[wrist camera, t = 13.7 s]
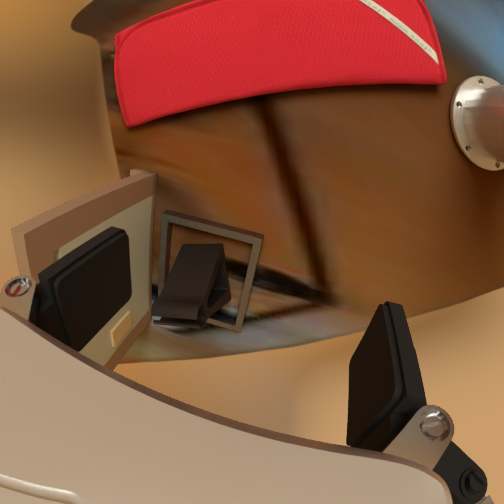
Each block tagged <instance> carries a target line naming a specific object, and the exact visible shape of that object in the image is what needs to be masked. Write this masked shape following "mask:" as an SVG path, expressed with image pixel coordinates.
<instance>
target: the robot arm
mask: <svg viewBox="0 0 504 504" xmlns="http://www.w3.org/2000/svg"><path fill="white" fill-rule="evenodd" d="M456 103H457V105H456ZM450 120H451V126H452V131H453V134H454V137H455V139H456V142H457V144H458V146H459V147H460V149H461V151H462V152H463V153H464V155H465V156H466V157H467V158H468V159H469V160H470V161H471V162H472V163H474V164H475V165H477V166H478V167H481V168H483V169H486V170H490V171H497V170H501V169H504V85H501V84H499V83H498V82H497V81H495V80H493V79H491V78H488V77H485V76H474V77H470V78H468V79H465V80H464V81H463V82H461V83H460V84H459V85H458V87H457V88H456V90H455V92H454V94H453V96H452V100H451V105H450ZM38 278H39V283H38V284H37V285H36V281H35V279H34V278H32V277H31V276H27V275H22V276H17V277H14V278H12V279H10V280H9V281H7V282H6V283H5V284H4V286H3V288H2V290H1V293H0V504H494V503H493V501H492V499H491V497H490V495H489V496H487V497H485V493H486V490H487V478H486V476H485V473H484V472H483V470H482V469H481V468H480V467H479V466H478V465H477V464H476V463H475V462H474V461H473V460H471V459H470V458H469V457H468V456H467V455H466V454H465V453H464V452H463V451H462V450H461V449H460V448H459V447H458V446H457V445H456V444H455V443H454V442H452V441H451V439H452V437H453V434H454V424H453V421H452V419H451V417H450V415H449V414H448V413H447V412H446V411H445V410H444V409H442V408H440V407H438V406H435V405H427V403H426V397H425V392H424V387H423V382H422V377H421V372H420V368H419V364H418V359H417V355H416V351H415V348H414V346H413V342H412V338H411V334H410V331H409V327H408V323H407V320H406V316H405V313H404V309H403V306H402V305H400V304H396V303H392V302H388V301H387V302H385V303H384V305H383V304H380V305H379V306H378V308H377V310H376V312H375V314H374V316H373V318H372V320H371V322H370V324H369V326H368V328H367V330H366V332H365V334H364V336H363V338H362V340H361V341H360V343H359V345H358V347H357V349H356V351H355V352H354V354H353V356H352V358H351V360H350V364H349V400H348V423H347V438H346V443H347V445H348V446H342V445H336V444H330V443H324V442H320V441H314V440H309V439H305V438H300V437H296V436H291V435H287V434H283V433H278V432H274V431H270V430H267V429H263V428H259V427H255V426H252V425H248V424H245V423H241V422H238V421H235V420H232V419H228V418H225V417H222V416H219V415H216V414H213V413H210V412H208V411H205V410H202V409H199V408H196V407H194V406H191V405H188V404H185V403H183V402H180V401H178V400H175V399H173V398H171V397H168V396H166V395H163V394H161V393H158V392H156V391H154V390H152V389H150V388H147V387H145V386H143V385H141V384H138V383H136V382H134V381H132V380H130V379H128V378H125V377H124V376H122V375H120V374H118V373H116V372H114V371H112V370H110V369H108V368H106V367H104V366H102V365H100V364H98V363H97V362H95V361H93V360H91V359H89V358H88V357H86V356H84V355H82V354H80V353H79V352H80V351H81V350H82V349H83V348H84V347H85V346H86V345H87V344H88V343H89V342H90V341H91V340H92V338H93V337H94V336H95V335H96V334H97V333H98V332H99V331H100V330H101V329H102V328H103V327H104V326H105V325H106V324H107V323H108V322H109V321H110V319H111V318H112V317H113V316H114V315H115V314H116V313H117V312H118V311H119V310H120V309H121V308H122V307H123V306H124V305H125V304H126V303H127V302H128V301H129V300H130V298H131V296H132V283H131V269H130V250H129V236H128V235H127V234H126V231H125V230H124V229H120V228H117V227H113V226H111V227H109V228H107V229H106V230H104V231H102V232H101V233H99V234H97V235H96V236H94V237H93V238H91V239H89V240H88V241H86V242H85V243H83V244H81V245H80V246H78V247H77V248H75V249H74V250H72V251H71V252H69V253H68V254H66V255H65V256H63V257H62V258H60V259H59V260H57V261H56V262H54V263H53V264H51V265H50V266H48V267H47V268H46V269H44V270H43V271H41V272H40V273H38ZM349 446H350V447H349Z"/></svg>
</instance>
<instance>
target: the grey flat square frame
mask: <svg viewBox="0 0 504 504" xmlns="http://www.w3.org/2000/svg"><path fill="white" fill-rule="evenodd" d="M172 223H175V224H179V225H183V226H187V227H190V228H194V229H198V230H202V231H206V232H209V233H213V234H217V235H221V236H224V237H228V238H232V239H235V240H239V241H243V242H247V243H250V244H253V247H252V252H251V256H250V261H249V265H248V270H247V274H246V279H245V283H244V288H243V293H242V297H241V302H240V306H239V311H238V315H237V320H235V319H232V318H228V317H225V316H222V315H218V314H215V313H214V314H212V315H211V316H210V317H209V318H208V319H207V321H206V322H207V323H210V324H214V325H217V326H220V327H223V328H227V329H230V330H233V331H237V332H241V329H242V327H243V323H244V318H245V314H246V310H247V306H248V302H249V298H250V293H251V289H252V285H253V281H254V277H255V272H256V268H257V264H258V260H259V255H260V251H261V247H262V243H263V238H264V235H263V234H259V233H255V232H251V231H248V230H244V229H240V228H236V227H232V226H228V225H225V224H221V223H217V222H213V221H209V220H205V219H201V218H197V217H193V216H189V215H185V214H181V213H177V212H173V211H169V210H166V211H165V212H163V213H162V221H161V236H160V253H159V278H158V298H159V296H160V294H161V292H162V290H163V288H164V285H165V283H166V281H167V278H168V275H169V258H170V244H171V232H172Z"/></svg>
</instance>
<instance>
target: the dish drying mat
mask: <svg viewBox="0 0 504 504" xmlns="http://www.w3.org/2000/svg"><path fill="white" fill-rule="evenodd" d="M114 41H115V50H116V52H115V60H114V74H115V83H116V90H117V95H118V101H119V105H120V109H121V113H122V116H123V120H124V122H125V125H126V127H127V128H131V127H133V126H138V125H141V124H144V123H146V122H149V121H152V120H154V119H158V118H161V117H164V116H168V115H172V114H176V113H180V112H184V111H189V110H192V109H196V108H200V107H205V106H209V105H214V104H218V103H223V102H227V101H232V100H237V99H242V98H247V97H253V96H258V95H264V94H271V93H278V92H284V91H292V90H301V89H310V88H322V87H333V86H348V85H369V84H446V83H447V74H446V70H445V66H444V61H443V56H442V52H441V48H440V44H439V40H438V36H437V32H436V29H435V26H434V23H433V21H432V18H431V15H430V13H429V11H428V9H427V7H426V5H425V2H424V0H195V1H192V2H189V3H186V4H183V5H180V6H178V7H175V8H172V9H170V10H167V11H165V12H162V13H159V14H157V15H155V16H152V17H150V18H147V19H145V20H143V21H141V22H139V23H137V24H135V25H133V26H131V27H129V28H127V29H125V30H123V31H121V32H120V33H117V34H116V35H115V39H114Z"/></svg>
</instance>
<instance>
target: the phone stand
mask: <svg viewBox="0 0 504 504" xmlns="http://www.w3.org/2000/svg"><path fill="white" fill-rule="evenodd" d="M230 300H231V293H230V287H229V280H228V274H227V267H226V261H225V254H224V247H223V244H184V245H182V247H181V249H180V252H179V254H178V256H177V258H176V260H175V263H174V265H173V267H172V269H171V272H170V274H169V276H168V278H167V281H166V283H165V285H164V288H163V290H162V292H161V294H160V296H159V298H158V299H157V300H155V301H154V303H153V305H152V308H151V316H160V317H161V319H160V320H154V321H153V322H154V323H155V324H160V325H169V326H178V327H188V328H199V329H202V328H203V327H204V326H205V324H206V321H207V319H208V318H209V317H210V316H211V315H212V314H214V313H215V312H216V311H217V310H219V309H220V308H221V307H223V306H224V305H225V304H226V303H228V302H229V301H230Z"/></svg>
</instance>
